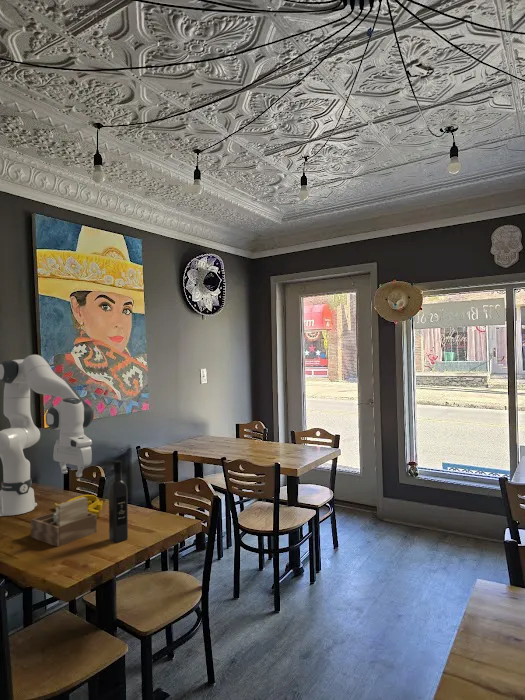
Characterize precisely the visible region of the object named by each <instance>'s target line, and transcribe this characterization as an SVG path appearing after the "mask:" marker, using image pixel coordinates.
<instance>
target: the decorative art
mask: <svg viewBox="0 0 525 700" xmlns="http://www.w3.org/2000/svg"><path fill="white" fill-rule="evenodd" d="M82 497H86V498H87V501H88V512H89V513H93V514H97V518H100V511H102V510H103V507H104V501H103V500H100V499H98V497H97V496H96V495H95V494H94V495H93V494H83V495H78V496H76V497H73V498H70V499H68V500H67V501H66V502H68V501H72V500H75V499H78V498H82ZM92 502H93V503H92ZM62 503H65V502H61V503H60V504H62ZM58 504H59V503H57V502H55V503H54V510H55V511H56V505H58Z"/></svg>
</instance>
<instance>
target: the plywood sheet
mask: <svg viewBox="0 0 525 700" xmlns="http://www.w3.org/2000/svg"><path fill="white" fill-rule="evenodd" d="M67 501H68V500H67ZM67 501H65V502H64V503H62V502H61V503H62V504H61V503H57V504H58V505H56V510H55V512H56V526H58V527H59V526H62V525H64V524H67V523H70V522H73V521H76V520H79V519H82V518H85V517H88V501H87V498H86V497H82V498H78V499H75V500H72V501H68V502H67Z"/></svg>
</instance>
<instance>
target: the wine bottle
mask: <svg viewBox="0 0 525 700" xmlns="http://www.w3.org/2000/svg"><path fill="white" fill-rule="evenodd" d="M122 464H123V461H122V460H114V461H113V469H114V471H113V472H114V473H113V474H114V475H113V476H114V477H113V478H114V479H113V481H111V483H110V484H109V487H108V523H109V524H108V526H109V527H108V530H109V531H108V533H109V534H108V535H109V541H112V543H116V544H117V543H120V542H124V541H126V540H128V538H129V526H128V525H129V524H128V523H129V521H128V520H129V519H128V518H129V517H128V516H129V515H128V513H129V512H128V511H129V509H128V486H127V484H126V482H125V481H124V480H123V478H122V475H123V474H122V472H123V471H122V470H123V469H122V467H123V465H122Z"/></svg>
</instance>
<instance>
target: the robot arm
mask: <svg viewBox="0 0 525 700" xmlns="http://www.w3.org/2000/svg"><path fill="white" fill-rule="evenodd" d="M0 382H1V383H4V388H3V415H4V417H6V418H7V419H8V420H9V423H10V427H9V428H4V429H1V430H0V459H1V463H2V471H3V472H2V474H3V477H2V479H3V481H1V483H0V484H1V488H0V517H4V516H15V515H21V514H25V513H29V512H31V511H33V510H35V508H36V507H37V506H38V503H37V502H36V501H35V492H34V488H32V482H33V481H32V478H31V462H30V460H28V459H27V458H26V456H25V454H24V449H27V448H30V447H32V446H34V445H36V444H37V443H38V442H39V441H40V439H41V431H40V430H39V428H38V427H37V426H36V425H35V423H34V421H33V418H32V413H31V412H32V411H31V391H34V393H36V394H39V395H40V394H41V395H45V396H53V397H57V398H61V399H62V400H61V401H60V403H59V404H57V405H54V406H51V407H50V408H49V409H48V410H47V411H46V414H45V424H46V425H47V427H49V428H50V430H57V431H58V430H60V431H59V437H57V439H56V441H55V444H54V446H53V447H54V448H53V461H54V462H58V463H59V467H60V470H61V474H63V475H65V474H68V473H69V472H68V468H67V465H72V466H76V467H77V472H75V476H76V477H77V478H82V477H83V471H84V469H85V467H89V466H90V465H91V464H92V461H93V458H92V456H93V453H92V445H93V441H92V438H90V437H88V436H87V435H86V434H85V429H84V428H88V426H90V424H91V423H92V422H93V420H94V417H95V413H94V410H93V408H92V407H91V406H90V404H89V403H87V402H86V401H85V400H84V399H83V398H82V397H81V396H80V394H78V392H77V391H76V390H75V389H74V388H73V386H72V385H71V384H70V383H69V382H68V381H66V380H65V379H63V378H62V377H60V376H58V375H57V373H55V372H54V370H53V369H52V367H51V365H50V363H49V361H47V360H46V359H45V358H44V357H42V356H41V355H39V354H30V355H28V356H26V357H24V359H23V358H22V359H13V360H12V359H7V360H3V361H1V362H0Z"/></svg>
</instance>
